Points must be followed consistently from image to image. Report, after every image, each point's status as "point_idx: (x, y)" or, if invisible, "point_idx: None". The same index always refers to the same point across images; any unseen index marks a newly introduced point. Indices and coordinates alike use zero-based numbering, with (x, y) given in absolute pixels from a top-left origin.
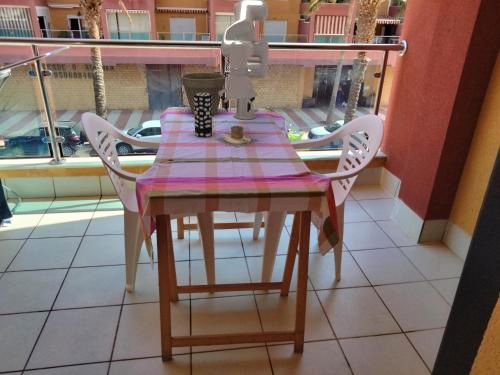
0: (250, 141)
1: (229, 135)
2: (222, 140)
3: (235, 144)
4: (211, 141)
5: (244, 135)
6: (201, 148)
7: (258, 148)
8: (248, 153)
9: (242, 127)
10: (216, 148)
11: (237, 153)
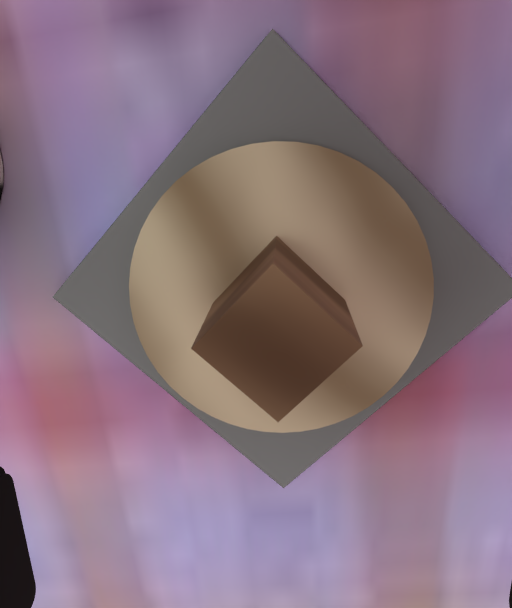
0: None
1: (189, 239)
2: None
3: None
4: (39, 321)
5: (364, 215)
6: None
7: (477, 458)
8: (380, 561)
9: (350, 350)
10: (122, 481)
11: (295, 565)
